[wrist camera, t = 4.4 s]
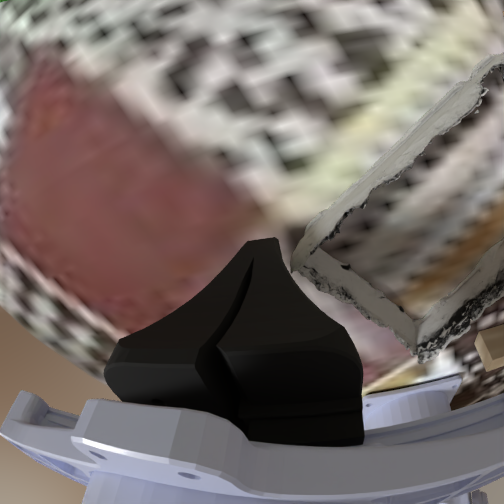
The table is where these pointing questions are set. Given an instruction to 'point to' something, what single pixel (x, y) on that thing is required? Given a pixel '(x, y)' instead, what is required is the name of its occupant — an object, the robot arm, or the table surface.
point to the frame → (491, 346)
